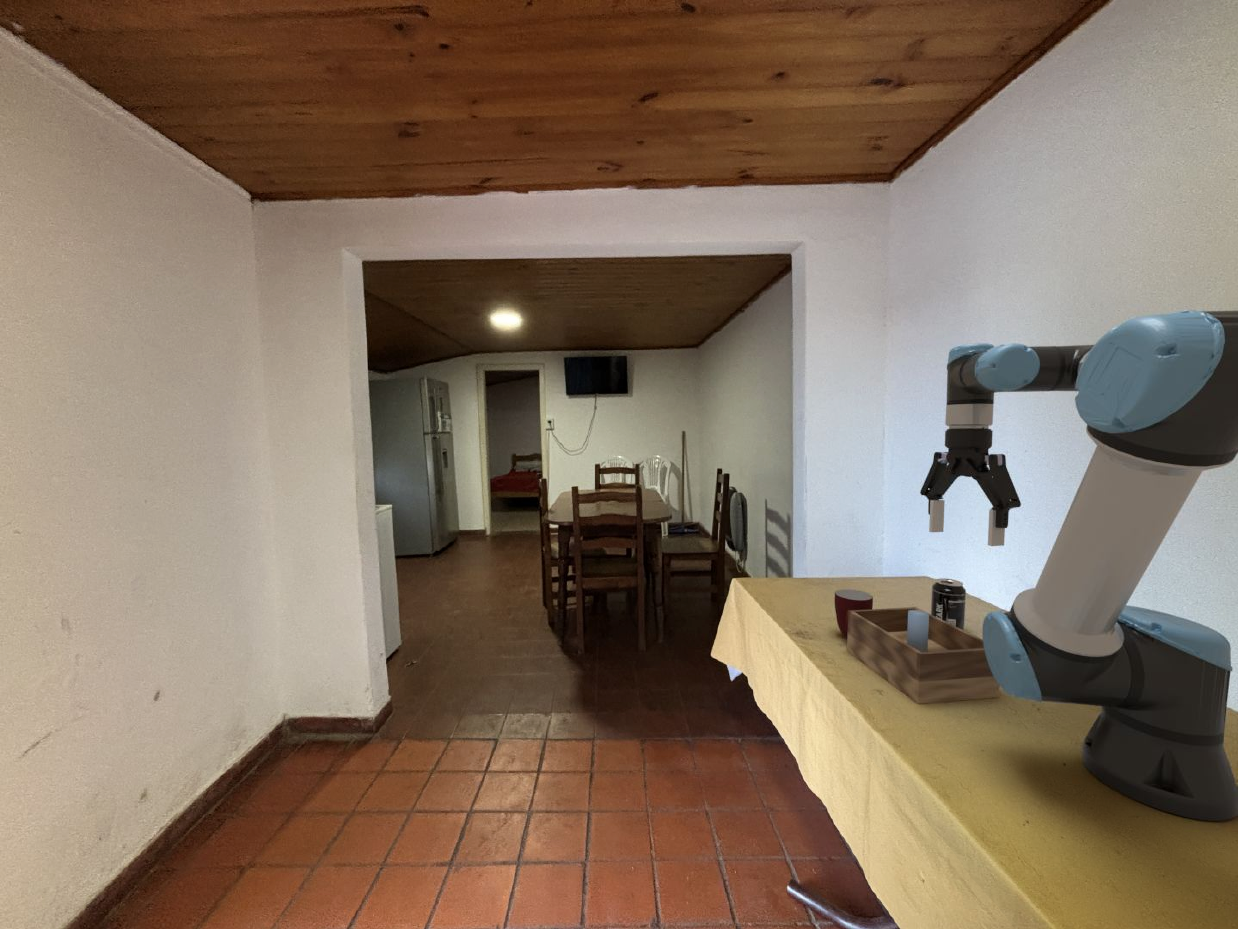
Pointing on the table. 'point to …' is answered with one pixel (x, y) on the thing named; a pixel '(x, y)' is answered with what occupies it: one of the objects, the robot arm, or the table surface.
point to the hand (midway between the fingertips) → (964, 538)
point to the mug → (850, 606)
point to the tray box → (921, 656)
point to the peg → (918, 630)
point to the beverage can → (949, 601)
